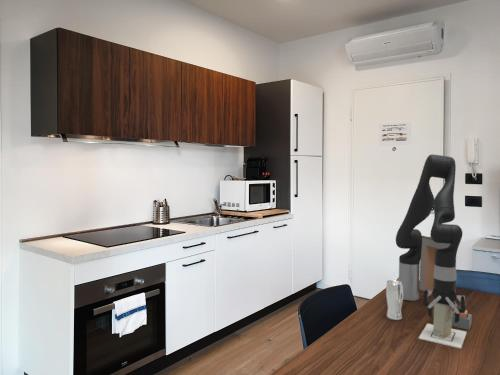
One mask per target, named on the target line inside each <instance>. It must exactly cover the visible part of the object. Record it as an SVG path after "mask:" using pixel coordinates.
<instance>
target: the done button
mask: <svg viewBox="0 0 500 375" xmlns="http://www.w3.org/2000/svg"><path fill="white" fill-rule="evenodd" d="M453 311H454V310H453ZM467 314H468V309H466V311H465V313H460V317H462V318H467ZM454 316H455V311H454Z"/></svg>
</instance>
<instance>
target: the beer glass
mask: <svg viewBox="0 0 500 375" xmlns="http://www.w3.org/2000/svg"><path fill="white" fill-rule="evenodd" d="M385 296H386V304H387V312H386V318H388V319H389V320H392V321H399V320H402V319H403V315H402V306H403V302H404V299H403V296H404V287H403V282H401V281H398V279H390V280H387V281H386V289H385Z"/></svg>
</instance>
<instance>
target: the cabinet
mask: <svg viewBox="0 0 500 375" xmlns="http://www.w3.org/2000/svg"><path fill="white" fill-rule="evenodd" d="M449 246H450V243H436V242H434V241H433V240H432V239H431V236H426V235H422V250H421V259H420V274H419V292H423V293H424V291H425V290H426V289H428V290H430V291H433V286H434V267H435V252H436V250H438V249H443V248H447V247H449ZM430 296H432V297H433V295H432V294H430Z"/></svg>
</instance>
